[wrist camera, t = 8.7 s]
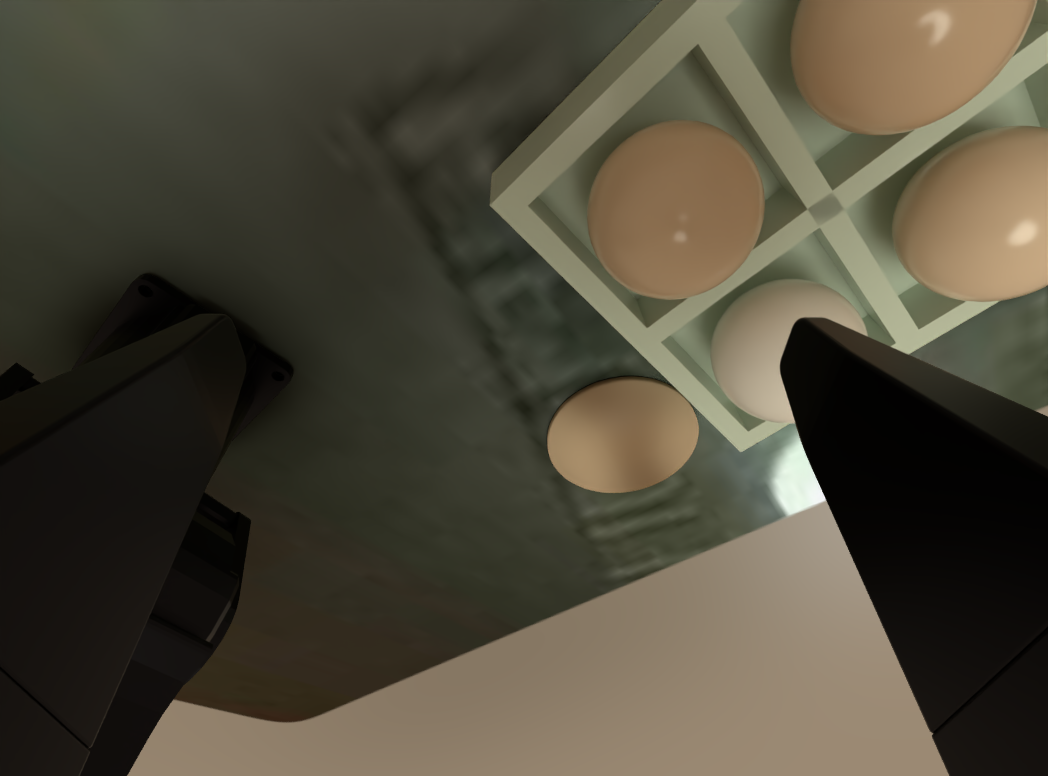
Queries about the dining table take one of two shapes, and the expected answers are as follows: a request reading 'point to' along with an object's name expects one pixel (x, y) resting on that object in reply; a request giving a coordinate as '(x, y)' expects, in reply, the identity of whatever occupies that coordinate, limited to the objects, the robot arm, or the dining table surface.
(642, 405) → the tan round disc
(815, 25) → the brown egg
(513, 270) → the dining table surface
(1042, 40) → the egg tray
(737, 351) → the white egg
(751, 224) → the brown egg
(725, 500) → the dining table surface
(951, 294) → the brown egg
